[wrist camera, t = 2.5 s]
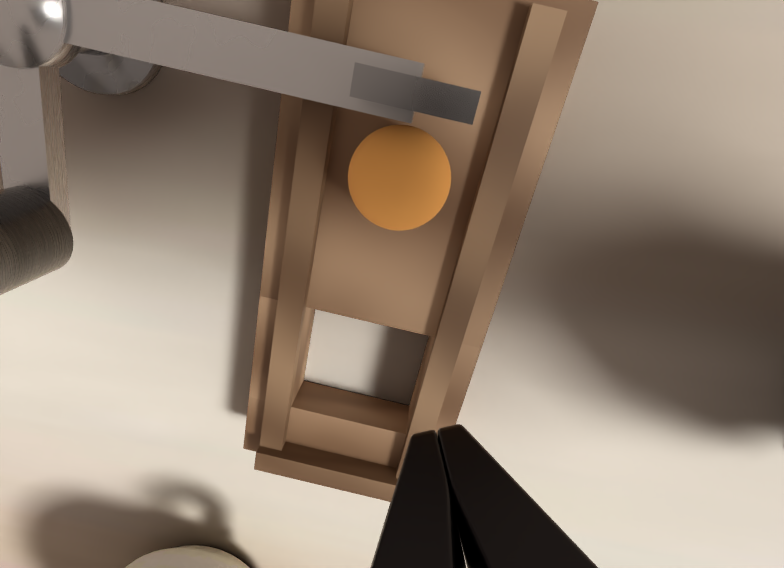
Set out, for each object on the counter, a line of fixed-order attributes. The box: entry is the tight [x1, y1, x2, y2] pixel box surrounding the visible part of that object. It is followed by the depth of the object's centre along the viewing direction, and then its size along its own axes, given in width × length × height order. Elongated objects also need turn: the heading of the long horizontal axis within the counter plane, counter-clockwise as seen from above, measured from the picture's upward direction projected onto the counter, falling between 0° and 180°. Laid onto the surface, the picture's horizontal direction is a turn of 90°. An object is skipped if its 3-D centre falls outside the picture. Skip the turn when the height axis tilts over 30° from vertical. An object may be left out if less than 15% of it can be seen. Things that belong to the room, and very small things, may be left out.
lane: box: [243, 0, 598, 502], centre depth 18 cm, size 20×9×3 cm, turn 168°
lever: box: [0, 0, 481, 295], centre depth 11 cm, size 10×15×9 cm
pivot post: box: [59, 0, 163, 94], centre depth 15 cm, size 5×5×3 cm
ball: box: [348, 125, 451, 231], centre depth 14 cm, size 3×3×3 cm
